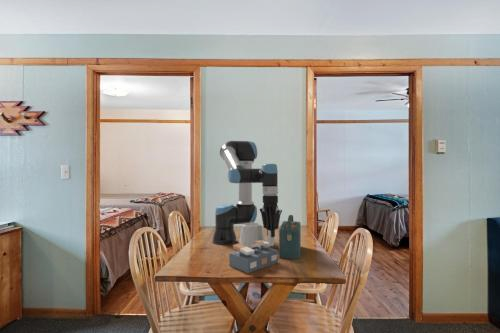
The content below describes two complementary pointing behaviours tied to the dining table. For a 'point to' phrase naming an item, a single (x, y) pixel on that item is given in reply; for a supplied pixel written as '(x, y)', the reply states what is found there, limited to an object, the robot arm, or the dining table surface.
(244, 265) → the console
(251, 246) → the rocker mid
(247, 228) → the vase
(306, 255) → the dining table surface
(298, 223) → the radio
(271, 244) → the rocker far
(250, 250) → the rocker near
